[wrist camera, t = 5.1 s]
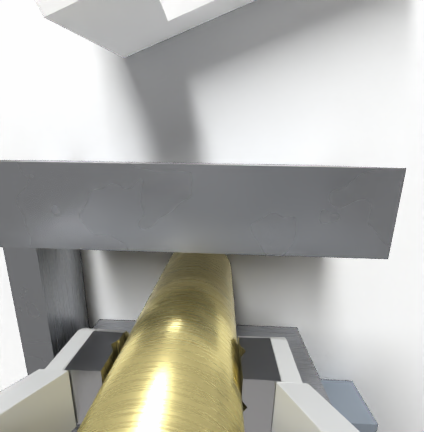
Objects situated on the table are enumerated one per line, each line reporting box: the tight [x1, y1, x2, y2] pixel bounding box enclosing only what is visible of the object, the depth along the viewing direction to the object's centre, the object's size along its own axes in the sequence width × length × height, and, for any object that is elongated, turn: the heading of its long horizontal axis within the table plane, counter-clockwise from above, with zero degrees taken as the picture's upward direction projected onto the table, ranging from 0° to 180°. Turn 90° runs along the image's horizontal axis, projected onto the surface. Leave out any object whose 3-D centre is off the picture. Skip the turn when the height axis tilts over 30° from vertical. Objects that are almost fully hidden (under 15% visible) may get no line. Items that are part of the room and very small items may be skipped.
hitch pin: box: [77, 252, 245, 432], centre depth 7 cm, size 4×4×12 cm
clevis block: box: [0, 160, 406, 432], centre depth 11 cm, size 14×12×6 cm
